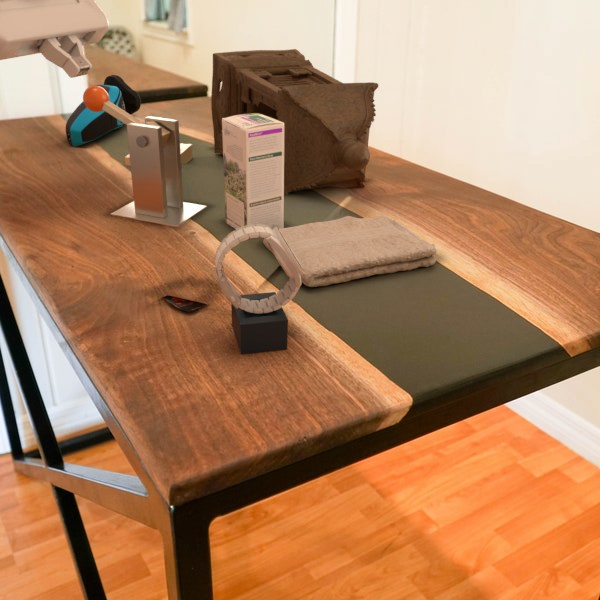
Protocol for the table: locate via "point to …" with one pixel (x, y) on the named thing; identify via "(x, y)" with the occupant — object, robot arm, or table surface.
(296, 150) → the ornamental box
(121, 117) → the switch lever
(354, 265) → the washcloth
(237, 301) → the watch
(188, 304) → the dark red faceted gem
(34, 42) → the robot arm
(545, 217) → the table surface
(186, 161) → the control box
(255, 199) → the syrup box
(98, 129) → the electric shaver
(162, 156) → the switch bracket
